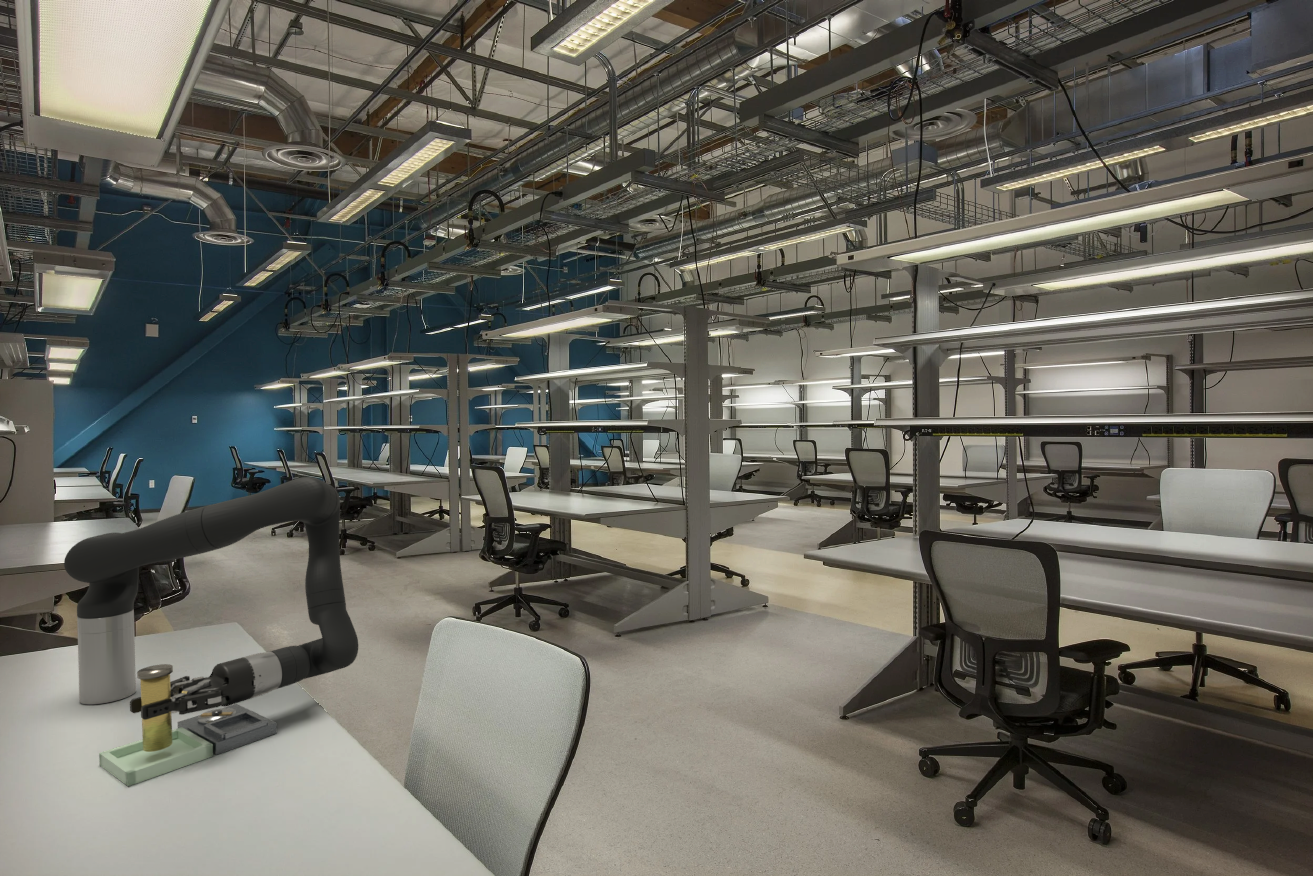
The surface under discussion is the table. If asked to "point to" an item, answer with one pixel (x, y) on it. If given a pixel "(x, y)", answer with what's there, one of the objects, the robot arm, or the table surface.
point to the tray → (154, 757)
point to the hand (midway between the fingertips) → (136, 710)
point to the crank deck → (229, 727)
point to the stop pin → (153, 690)
